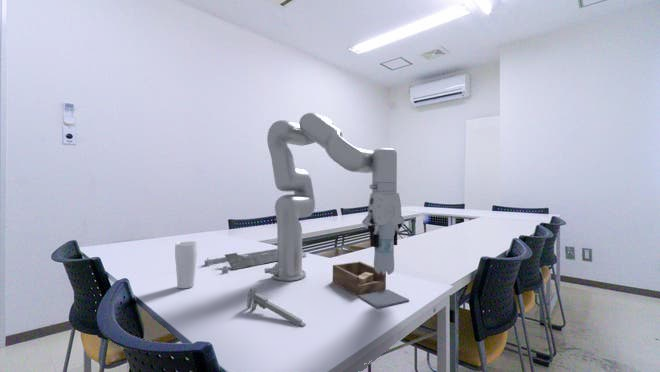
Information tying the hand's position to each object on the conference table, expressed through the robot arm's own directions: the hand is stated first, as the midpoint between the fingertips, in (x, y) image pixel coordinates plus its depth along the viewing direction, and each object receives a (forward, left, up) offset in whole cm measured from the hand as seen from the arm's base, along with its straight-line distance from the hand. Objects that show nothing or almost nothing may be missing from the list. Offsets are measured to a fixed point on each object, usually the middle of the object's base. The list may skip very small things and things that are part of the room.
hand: (384, 245), depth 93 cm
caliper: (-34, +4, -17) cm, 38 cm away
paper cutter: (-22, +64, -18) cm, 70 cm away
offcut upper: (0, +11, -15) cm, 18 cm away
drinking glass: (-54, +40, -17) cm, 69 cm away
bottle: (0, 0, -9) cm, 9 cm away
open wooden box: (0, +14, -17) cm, 22 cm away
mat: (0, 0, -17) cm, 17 cm away
